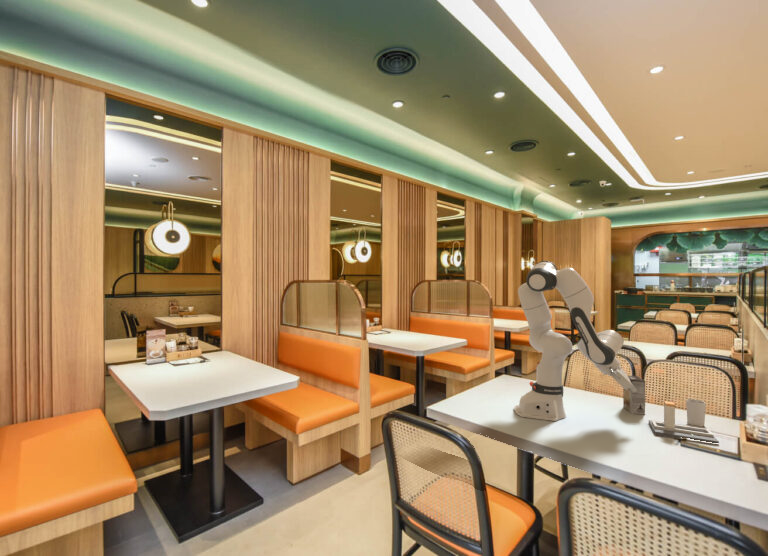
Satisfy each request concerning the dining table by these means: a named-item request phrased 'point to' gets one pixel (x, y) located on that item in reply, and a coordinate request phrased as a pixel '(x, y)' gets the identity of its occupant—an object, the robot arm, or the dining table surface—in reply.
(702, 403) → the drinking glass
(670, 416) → the fader
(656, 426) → the console
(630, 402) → the coffee box
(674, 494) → the dining table surface
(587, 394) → the dining table surface
